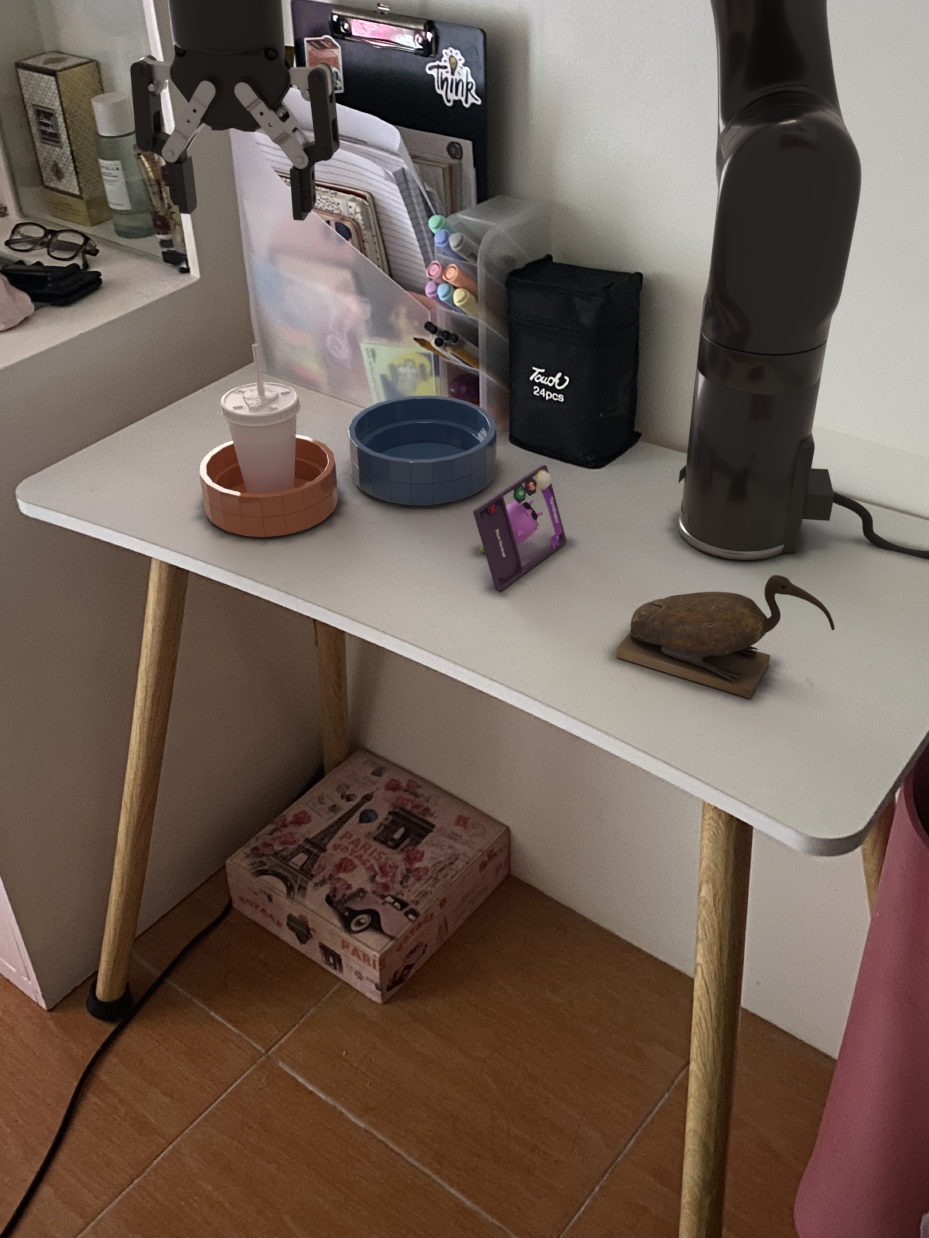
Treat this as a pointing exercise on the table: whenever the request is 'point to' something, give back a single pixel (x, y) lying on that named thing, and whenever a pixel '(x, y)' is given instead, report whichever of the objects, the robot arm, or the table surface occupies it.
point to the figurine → (709, 635)
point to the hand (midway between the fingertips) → (245, 214)
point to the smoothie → (263, 431)
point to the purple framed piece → (516, 527)
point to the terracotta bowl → (270, 510)
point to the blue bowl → (422, 450)
